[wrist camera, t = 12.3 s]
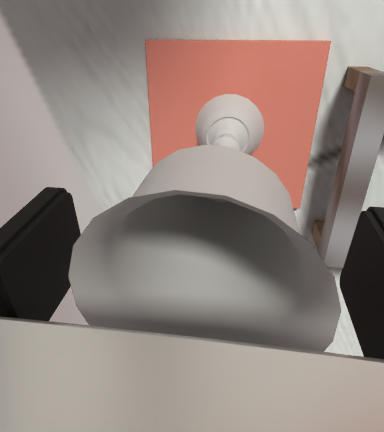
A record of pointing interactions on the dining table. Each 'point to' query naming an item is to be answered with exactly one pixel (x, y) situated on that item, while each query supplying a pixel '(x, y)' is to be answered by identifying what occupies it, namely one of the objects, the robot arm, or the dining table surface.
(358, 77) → the ring stand
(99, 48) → the dining table surface
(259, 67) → the coaster
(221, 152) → the chalice
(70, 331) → the robot arm
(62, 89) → the dining table surface
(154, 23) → the dining table surface
